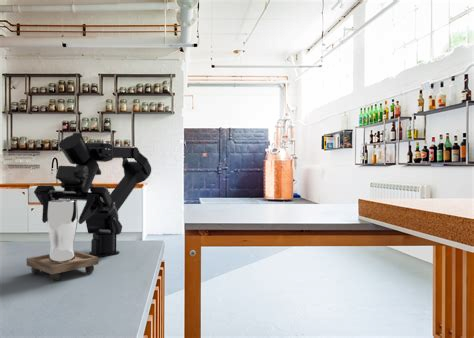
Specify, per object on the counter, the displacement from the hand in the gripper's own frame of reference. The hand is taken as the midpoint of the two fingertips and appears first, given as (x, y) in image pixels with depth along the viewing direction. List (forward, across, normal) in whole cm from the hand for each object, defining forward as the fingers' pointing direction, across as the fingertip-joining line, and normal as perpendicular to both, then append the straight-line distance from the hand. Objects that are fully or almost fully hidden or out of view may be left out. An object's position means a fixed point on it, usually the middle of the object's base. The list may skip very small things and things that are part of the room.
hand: (61, 222), depth 97 cm
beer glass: (+6, 0, +8) cm, 10 cm away
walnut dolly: (+8, 0, +10) cm, 13 cm away
